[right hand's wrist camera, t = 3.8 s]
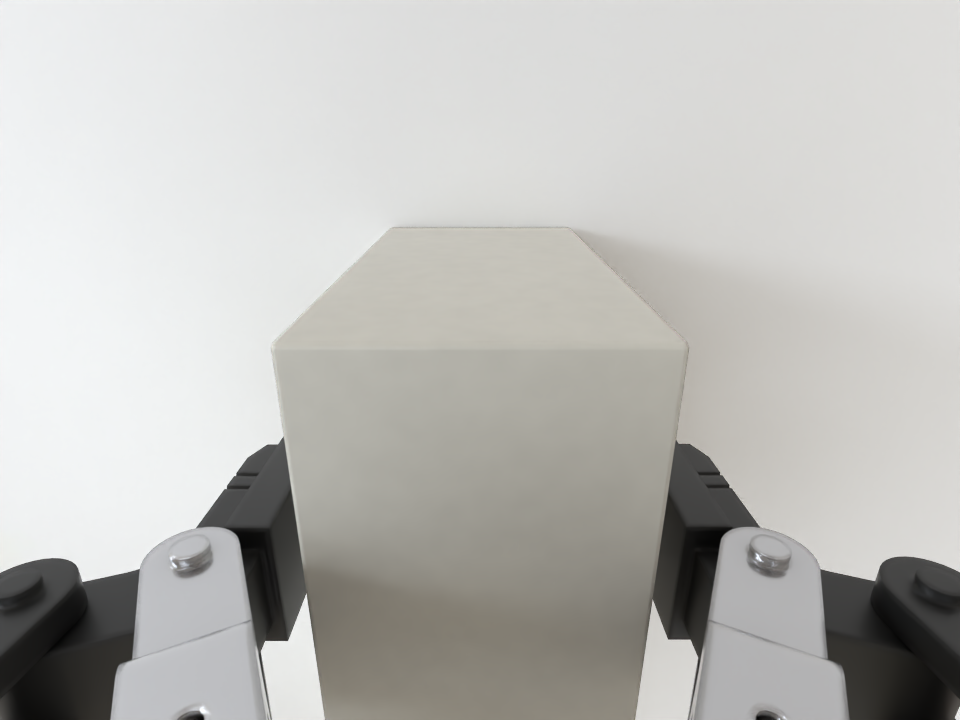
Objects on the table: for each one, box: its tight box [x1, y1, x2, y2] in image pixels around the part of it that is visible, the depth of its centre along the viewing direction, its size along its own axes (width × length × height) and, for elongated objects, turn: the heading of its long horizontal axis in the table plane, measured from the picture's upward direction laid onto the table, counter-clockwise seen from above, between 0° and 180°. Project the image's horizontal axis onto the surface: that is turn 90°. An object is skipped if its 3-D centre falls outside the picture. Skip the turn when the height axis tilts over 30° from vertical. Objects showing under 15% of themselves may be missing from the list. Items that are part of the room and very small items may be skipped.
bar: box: [271, 228, 689, 720], centre depth 15 cm, size 23×5×9 cm, turn 0°
